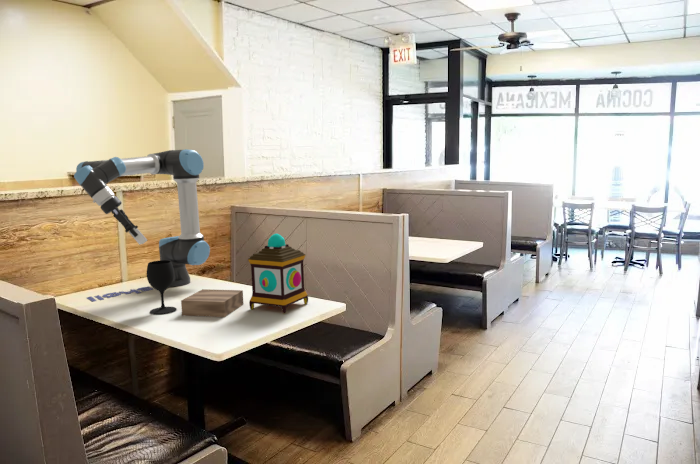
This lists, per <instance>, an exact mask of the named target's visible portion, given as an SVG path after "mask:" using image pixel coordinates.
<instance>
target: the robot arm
mask: <svg viewBox="0 0 700 464" xmlns="http://www.w3.org/2000/svg"><path fill="white" fill-rule="evenodd" d="M203 170H204V160H203V157H202V155H201V154H199V153H198V151H196V150H194V149H170V150H165V151H164V150H163V151H160V152H156V153H149V154H147V156H136V157H127V158H126V157H123V158H120V157H117V156H113V157H111V158H109V159H102V160H93V161H88V160H87V161H81V162H79V163H78V164H77V165H76V169H75V173H74V174H73V177H74V179H75V181H76V182H77V184H78V185H79V186H80V187H81V188H82V189H83V190H84V191H85V192H86V193H87V194H88V196H89V197H90V198H91V199H92V203H93V204H96V205H97V206H98V207H99V206H100V209H101V210H102V211H103V213H104V214H105V215H109V214H110V213H111V214H112V215H113V218H115V219H116V220H117V221H118V222H119V223H120V225H122V227H123V228H124V229H125V230H124V232H125V233H129V234H130V236H131V237H132V238H133V239H134V240H135V241H136V243H137V244H138V245H144V244H145V243H146V242H147V241H148V238H146V236H145V235H144V234H143V233H142V232H141V231H140V230H139V226H138V225H135V224H134V223H133V222H132V221H131V220H130V219H129V217H128V215H127V214H126V212H125V211H124V210H123V209H122V208H121V209H119V207H120V206H121V205H122V200H120V199H119V197H118V196H116V195H115V193H114V192H113V190H112V189H111V188H110V186H108V185H107V184H108V183H111V182H112V181H114V180H116V179H117V178H119V177H125V176H133V175H142V174H151V175H167V176H169V175H170V176H172V178H173V181H174V182H175V183H176V186H177V187H176V188H177V196H178V197H177V199H178V211H179V224H180V234H179V235H177V236H176V235H175V236H169V237H165V238H160V239H159V241H158V251H159V261H160V260H169V261H171V263H172V265H173V269H174V279H173V282H172V284H171V285H170V286H169V287H168V288H170V287H179V286H180V287H181V286H185V285H189V284H190V283H191V275H190V274H189V272H188V269H187V265H190V266H200V265H203V264H204V263H206V261H207V260H208V258H209V257H210V252H211V247H210V245H209V244H208V242H207V241H205V239H204V234H202V233H201V230H200V229H201V228H200V226H201V225H200V216H199V215H200V213H199V203H198V202H199V201H198V190H197V188H198V187H197V181H198V180H199V179H200V174H202V171H203Z"/></svg>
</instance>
